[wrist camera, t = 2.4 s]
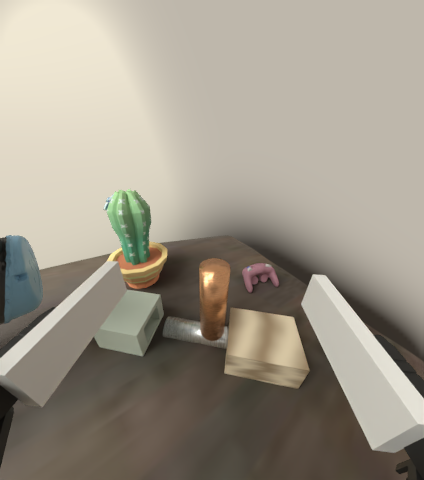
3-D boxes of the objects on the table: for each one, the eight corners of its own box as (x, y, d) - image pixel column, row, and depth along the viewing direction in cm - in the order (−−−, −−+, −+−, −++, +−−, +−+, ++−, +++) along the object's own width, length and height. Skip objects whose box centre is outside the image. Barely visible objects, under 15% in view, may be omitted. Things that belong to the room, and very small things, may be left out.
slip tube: (163, 342, 31) (147, 268, 23) (171, 321, 35) (161, 251, 26) (284, 367, 28) (319, 292, 20) (279, 341, 32) (307, 269, 23)
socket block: (99, 347, 31) (88, 326, 28) (128, 308, 39) (121, 288, 36) (143, 356, 30) (136, 336, 27) (163, 314, 38) (160, 294, 35)
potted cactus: (163, 257, 58) (153, 183, 46) (177, 285, 46) (168, 196, 34) (113, 270, 51) (86, 187, 39) (114, 307, 39) (76, 204, 27)
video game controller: (270, 282, 50) (268, 260, 50) (281, 287, 46) (278, 262, 45) (241, 289, 48) (239, 265, 47) (249, 294, 43) (246, 268, 43)
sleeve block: (224, 373, 28) (226, 354, 25) (228, 325, 36) (230, 307, 33) (298, 389, 27) (309, 370, 24) (286, 335, 34) (293, 317, 31)
